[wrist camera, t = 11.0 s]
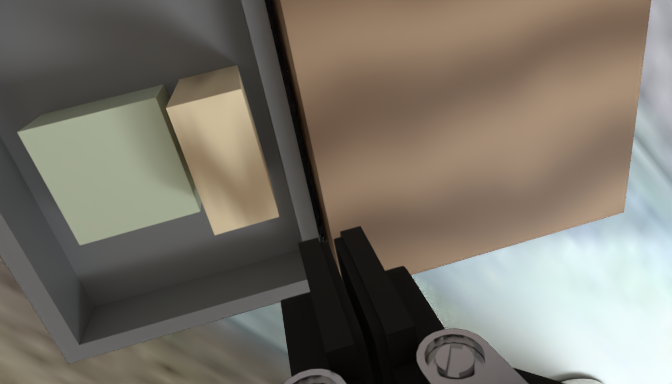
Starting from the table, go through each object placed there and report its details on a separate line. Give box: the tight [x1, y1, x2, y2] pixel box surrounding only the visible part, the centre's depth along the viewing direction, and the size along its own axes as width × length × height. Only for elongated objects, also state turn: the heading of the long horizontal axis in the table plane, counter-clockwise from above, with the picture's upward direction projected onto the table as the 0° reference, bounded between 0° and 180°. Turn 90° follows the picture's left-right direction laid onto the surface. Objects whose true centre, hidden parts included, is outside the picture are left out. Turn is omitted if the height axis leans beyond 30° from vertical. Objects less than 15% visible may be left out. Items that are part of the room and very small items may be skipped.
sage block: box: [17, 84, 201, 245], centre depth 22 cm, size 6×6×3 cm
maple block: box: [166, 65, 279, 235], centre depth 22 cm, size 6×6×3 cm
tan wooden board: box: [270, 0, 651, 277], centre depth 24 cm, size 20×18×5 cm
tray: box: [0, 0, 320, 364], centre depth 23 cm, size 20×15×4 cm
